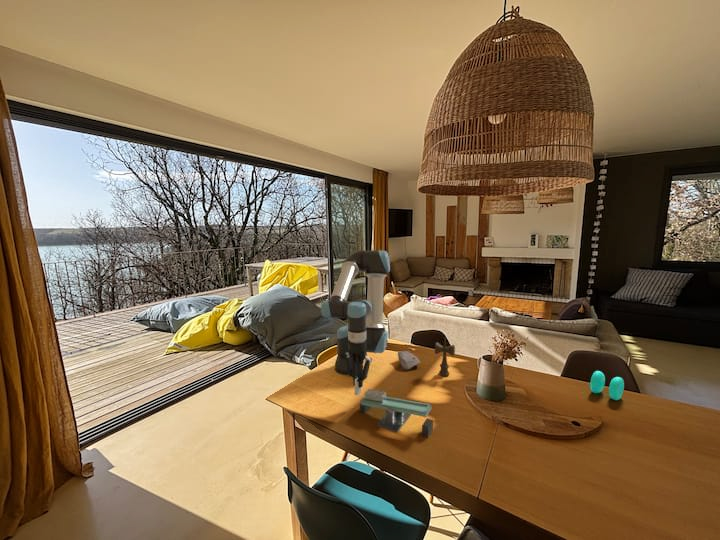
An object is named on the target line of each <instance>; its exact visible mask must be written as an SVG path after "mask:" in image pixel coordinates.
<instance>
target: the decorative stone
mask: <svg viewBox="0 0 720 540" xmlns="http://www.w3.org/2000/svg"><path fill="white" fill-rule="evenodd" d="M397 357H398V362H399V363H400V365H401V367H402V368H403V370H411V369H413V368H414V367H416V366H417V365H419V364H421V361H420V360H419V358H418V357H417V356H416V355H415V354H413V353H411V352H410V351H407V350H404V351H398V352H397Z"/></svg>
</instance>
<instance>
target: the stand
mask: <svg viewBox="0 0 720 540" xmlns="http://www.w3.org/2000/svg"><path fill="white" fill-rule="evenodd" d="M395 398H396V399H402V398H400V397H397V396H396V397H395ZM402 400H404V398H403V399H402ZM370 409H372V407H371V406H366V405H361V402H360V403H359V412H360V413H361V414H364V415H365V414H367V412H369V410H370ZM411 416H412V414H407V413H402V412H397V411H394V410H392V409H389V408H386V409H385V415H384V416H383V417H382V418H381V419H380V421H378V423H377V427H379V428H382V429H385V431H386V430H387V431H389V432H392V433H394V434H398V433H399V432H400V430H401V429H402V427H403V426H404V425H405V423H406V422H407V421H408V420H409V418H410V417H411ZM433 431H434V420H433V419H431V418H427V417H426V419H425V420H424V422H423V424H422V425H421V436H423V437H424V438H425V437H426V438H430V435H432V434H431V433H432V432H433Z"/></svg>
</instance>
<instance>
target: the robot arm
mask: <svg viewBox="0 0 720 540" xmlns="http://www.w3.org/2000/svg"><path fill="white" fill-rule="evenodd" d="M390 263H391V262H390V257H389V253H388V252H387V251H386V250H379V249H376V250H375V249H374V250H373V249H372V250H356V251H354V252H352V253H350V254H349V255H348V256H347V257H346V258H345V259H344V260H343V262H342V264H341V267H340V268H341V272H340V274H339V277H338V279H337V281H336V284H335V286H334V288H333V291H332V294H331V296H330V298H329V300H323V301H322V303H321V306H320V312H321V316H322V317H324V318H330V319H347V325H344V326H341V327H339V328H338V330H337V332H336V333H337V334H336V339H337V340H336V345H337V357H336V360H335V363H334V371H335V372H336V373H337V374H340V375H345V376H348V377H350V378H352V384H353V387H354V395H355V396H359V395H360V394H361V393H362V387H363V385H364V381H365V380H366V379H367V378H368V373H369V369H370V365H371V363H372V361H373V358H372V357H369V356H368V354H367V353H374V354H383V353H384V352H385V350H386V347H387V345H388V336H389V332H388V330H386V326H384V324H383V314H384V290H385V289H384V284H385V279H386V277H387V276H388V273H390V272H391V264H390ZM362 272H363V273H365V275H364V276H365V277H367V293H366V294H367V296H366V299H362V300H359V301H347V300H348V297H349V294H350V293H351V289H352V286H353V283H354V280H355V278H356V276H357V275H358V274H359V273H362Z"/></svg>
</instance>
